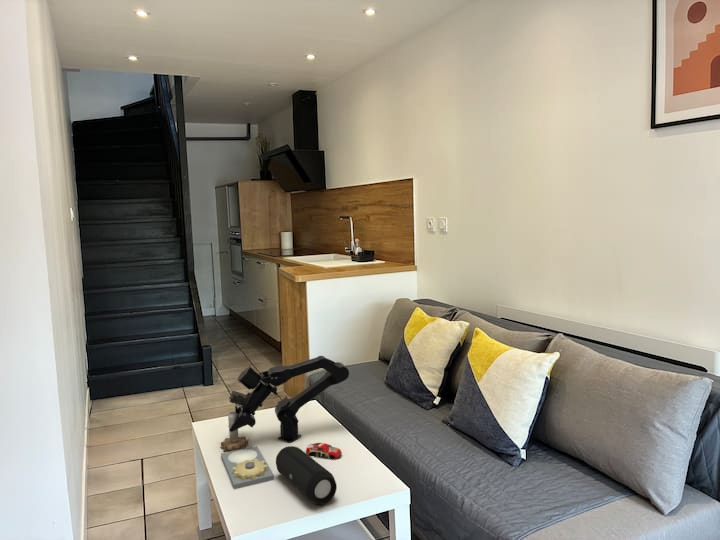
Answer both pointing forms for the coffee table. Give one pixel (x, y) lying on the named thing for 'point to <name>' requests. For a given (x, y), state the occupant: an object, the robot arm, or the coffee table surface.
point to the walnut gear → (233, 436)
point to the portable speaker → (306, 475)
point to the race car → (323, 451)
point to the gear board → (248, 481)
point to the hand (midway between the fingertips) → (229, 429)
